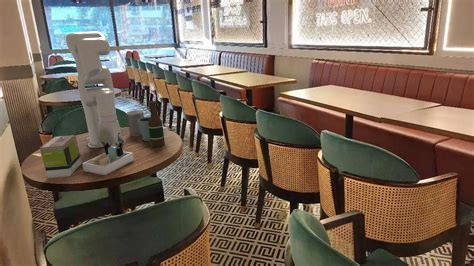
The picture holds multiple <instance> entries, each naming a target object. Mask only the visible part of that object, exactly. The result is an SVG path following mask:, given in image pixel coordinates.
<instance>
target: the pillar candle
mask: <svg viewBox="0 0 474 266" xmlns="http://www.w3.org/2000/svg"><path fill="white" fill-rule="evenodd" d="M144 117H145V114H144V110H141V109H140V110H139V109H137V110H135V109H134V110H130V111H127V112H126V118H127V123H128V124H127V125H128V131H129V136H131V137H140V136H141V137H142V133H141V128H140V126H139V122H138V120H139V119H141V118H144Z"/></svg>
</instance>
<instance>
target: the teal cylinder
mask: <svg viewBox="0 0 474 266" xmlns="http://www.w3.org/2000/svg"><path fill="white" fill-rule="evenodd" d="M116 149H117V147H116V145H110V147H108V153H109V159H110V163H112V162H114V161H116V160H118V159H120V158H121V157H120V156H119V157H118V156H117V150H116Z"/></svg>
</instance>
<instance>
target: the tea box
mask: <svg viewBox="0 0 474 266" xmlns="http://www.w3.org/2000/svg"><path fill="white" fill-rule="evenodd" d="M39 150H40V154H41V158H42V161H43V166H44V169H45V174H46V177H47V178H48V179H53V178H54V179H55V178H65V177H70V176H72V174H73V173H74V172H75V171H76V170H77V169H78V168H79V167H80V166H81V165H82V163H83V162H82V161H83V160H82V157H81V153H80V149H79V145H78V139H77V137H76V134H72V135H61V136H53V137H52V138H51V139H50V140H48V141H47V142H45V143H44V144H43V145H42V146H40V147H39Z"/></svg>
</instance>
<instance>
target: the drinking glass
mask: <svg viewBox="0 0 474 266" xmlns="http://www.w3.org/2000/svg"><path fill="white" fill-rule="evenodd" d="M149 119H150V116H144V118H141V119H139V120H138V122H139V126H140V128H141V133H142V135H141V137H142V141H143V140H144V142H150V135H149V127H148V122H149Z"/></svg>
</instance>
